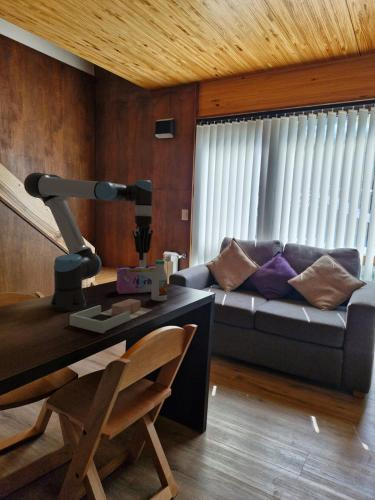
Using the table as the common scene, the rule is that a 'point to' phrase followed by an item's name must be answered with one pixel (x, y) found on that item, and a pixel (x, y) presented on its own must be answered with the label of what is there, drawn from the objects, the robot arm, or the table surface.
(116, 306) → the tile front
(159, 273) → the milk bottle
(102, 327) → the tray
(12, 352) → the table surface
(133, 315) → the board
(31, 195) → the robot arm
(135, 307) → the tile back
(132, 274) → the gum box
